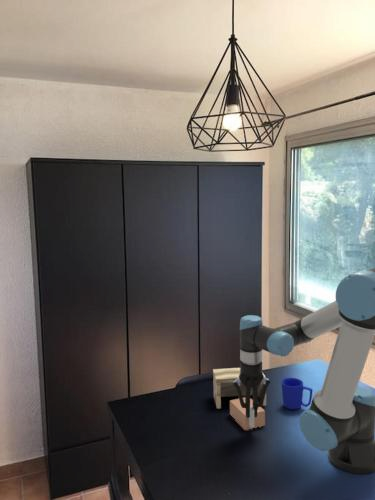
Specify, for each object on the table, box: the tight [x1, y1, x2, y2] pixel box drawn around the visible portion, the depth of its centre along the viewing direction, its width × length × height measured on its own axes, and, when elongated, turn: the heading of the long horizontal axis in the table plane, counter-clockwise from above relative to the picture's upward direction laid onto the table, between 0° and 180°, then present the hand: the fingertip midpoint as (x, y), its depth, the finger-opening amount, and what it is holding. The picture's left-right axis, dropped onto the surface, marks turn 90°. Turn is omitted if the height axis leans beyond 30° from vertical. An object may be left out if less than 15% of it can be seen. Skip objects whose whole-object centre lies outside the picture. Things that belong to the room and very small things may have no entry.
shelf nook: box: [212, 367, 267, 409], centre depth 176 cm, size 11×20×12 cm, turn 94°
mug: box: [280, 377, 313, 410], centre depth 169 cm, size 8×12×10 cm
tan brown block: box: [229, 396, 266, 431], centre depth 161 cm, size 12×8×6 cm, turn 21°
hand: (251, 425), depth 153 cm, fingers closed
